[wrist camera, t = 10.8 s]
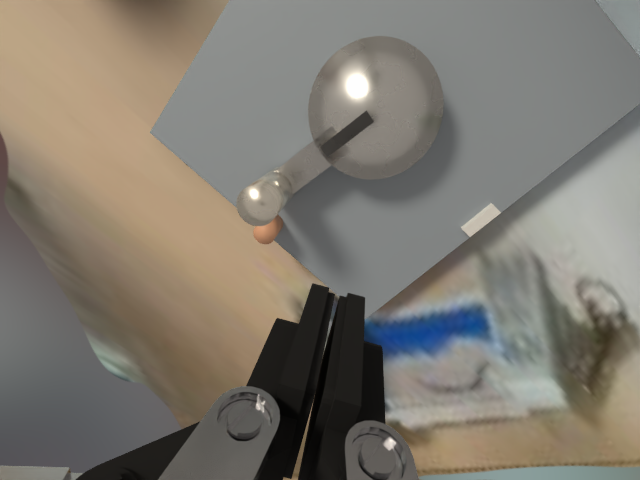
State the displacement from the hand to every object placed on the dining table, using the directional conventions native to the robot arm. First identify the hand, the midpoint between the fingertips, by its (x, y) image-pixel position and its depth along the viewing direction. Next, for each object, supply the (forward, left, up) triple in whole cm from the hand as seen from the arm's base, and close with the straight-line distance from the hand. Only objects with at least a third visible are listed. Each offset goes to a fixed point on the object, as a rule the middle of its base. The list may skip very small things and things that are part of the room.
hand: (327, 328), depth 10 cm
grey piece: (-4, +2, -21) cm, 21 cm away
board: (-3, +5, -23) cm, 24 cm away
